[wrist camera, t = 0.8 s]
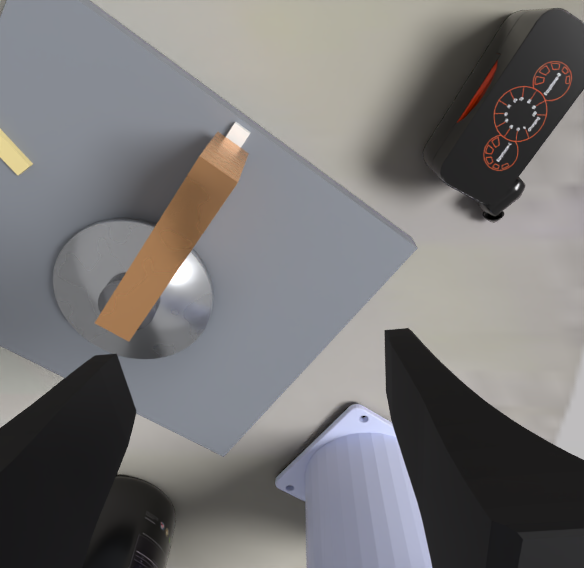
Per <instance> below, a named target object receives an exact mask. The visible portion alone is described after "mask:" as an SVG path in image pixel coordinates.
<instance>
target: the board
mask: <svg viewBox="0 0 584 568" xmlns="http://www.w3.org/2000/svg"><path fill="white" fill-rule="evenodd" d="M217 132H219V133H221V134H222V135H224V136H225V137H226V138H228V139H229V140H231V141H232V142H233V143H235V144H236V145H238V146H239V147H241V148H242V149H243V150H245V151H246V152H248V153H249V154H248V157H247V160H246V162H245V165H244V168H243V170H242V173H241V176H240V179H239V181H238V183H237V185H236V186H235V188H234V189H233V191H232V192H231V193H230V195H229V196H228V198H227V199H226V201H225V202H224V204H223V205H222V207H221V208H220V210H219V211H218V212H217V214H216V215H215V217H214V218H213V220H212V221H211V223H210V224H209V226H208V227H207V229H206V230H205V231H204V233H203V234H202V236H201V237H200V239H199V240H198V242H197V243H196V245H195V246H194V250H195V251H196V252H197V253H198V254H199V256H200V257H201V259H202V260H203V261H204V263H205V265H206V267H207V269H208V271H209V274H210V277H211V280H212V285H213V293H214V300H213V307H212V311H211V315H210V318H209V321H208V323H207V325H206V328H205V329H204V331H203V332H202V334H201V335H200V336H199V337H198V338H197V340H196V341H195V342H193V343H192V344H191V345H190V346H188V347H187V348H185V349H184V350H182V351H180V352H178V353H175V354H173V355H170V356H167V357H162V358H157V359H134V358H127V357H123V356H119V355H117V356H118V359H119V362H120V364H121V367H122V370H123V373H124V376H125V379H126V382H127V385H128V388H129V391H130V393H131V396H132V399H133V402H134V405H135V408H136V413H137V414H139V415H141V416H143V417H145V418H147V419H149V420H151V421H153V422H155V423H157V424H159V425H161V426H163V427H165V428H167V429H169V430H171V431H173V432H175V433H177V434H179V435H181V436H183V437H185V438H187V439H189V440H191V441H193V442H195V443H197V444H199V445H201V446H203V447H205V448H207V449H209V450H211V451H213V452H215V453H217V454H219V455H221V456H223V457H224V456H225V455H226V454H227V453H228V452H229V451H230V449H231V448H232V447H233V446H234V445H235V444H236V443H237V442H238V441H239V440H240V439H241V438H242V437H243V435H244V434H245V433H246V432H247V431H248V430H249V429H250V428H251V427H252V426H253V425H254V424H255V423H256V421H257V420H258V419H259V418H260V417H261V416H262V415H263V414H264V413H265V412H266V411H267V410H268V409H269V407H270V406H271V405H272V404H273V403H274V402H275V401H276V400H277V399H278V398H279V397H280V396H281V395H282V393H283V392H284V391H285V390H286V389H287V388H288V387H289V386H290V385H291V384H292V383H293V382H294V381H295V379H296V378H297V377H298V376H299V375H300V374H301V373H302V372H303V371H304V370H305V369H306V368H307V367H308V365H309V364H310V363H311V362H312V361H313V360H314V359H315V358H316V357H317V356H318V355H319V354H320V353H321V351H322V350H323V349H324V348H325V347H326V346H327V345H328V344H329V343H330V342H331V341H332V340H333V339H334V337H335V336H336V335H337V334H338V333H339V332H340V331H341V330H342V329H343V328H344V327H345V326H346V325H347V323H348V322H349V321H350V320H351V319H352V318H353V317H354V316H355V315H356V314H357V313H358V312H359V311H360V309H361V308H362V307H363V306H364V305H365V304H366V303H367V302H368V301H369V300H370V299H371V298H372V297H373V295H374V294H375V293H376V292H377V291H378V290H379V289H380V288H381V287H382V286H383V285H384V284H385V283H386V282H387V280H388V279H389V278H390V277H391V276H392V275H393V274H394V273H395V272H396V271H397V270H398V269H399V268H400V266H401V265H402V264H403V263H404V262H405V261H406V260H407V259H408V258H409V257H410V256H411V255H412V254H413V252H414V251H415V250H416V249H417V246H416V244H415V243H414V241H413V239H412V237H410V236H409V235H408V234H406V233H405V232H404V231H402V230H401V229H400V228H398V227H397V226H395V225H394V224H393V223H391V222H390V221H389V220H387V219H386V218H385V217H383V216H382V215H381V214H379V213H378V212H376V211H375V210H374V209H372V208H371V207H370V206H368V205H367V204H366V203H364V202H363V201H361V200H360V199H359V198H357V197H356V196H355V195H353V194H352V193H351V192H349V191H348V190H347V189H345V188H344V187H342V186H341V185H340V184H338V183H337V182H336V181H334V180H333V179H332V178H330V177H329V176H328V175H326V174H325V173H323V172H322V171H321V170H319V169H318V168H317V167H315V166H314V165H313V164H311V163H310V162H308V161H307V160H306V159H304V158H303V157H302V156H300V155H299V154H298V153H296V152H295V151H294V150H292V149H291V148H289V147H288V146H287V145H285V144H284V143H283V142H281V141H280V140H279V139H277V138H276V137H275V136H273V135H272V134H270V133H269V132H268V131H266V130H265V129H264V128H262V127H261V126H260V125H258V124H257V123H256V122H254V121H253V120H251V119H250V118H249V117H247V116H246V115H245V114H243V113H242V112H241V111H239V110H238V109H236V108H235V107H234V106H232V105H231V104H230V103H228V102H227V101H226V100H224V99H223V98H222V97H220V96H219V95H217V94H216V93H215V92H213V91H212V90H211V89H209V88H208V87H207V86H205V85H204V84H203V83H201V82H200V81H198V80H197V79H196V78H194V77H193V76H192V75H190V74H189V73H188V72H186V71H185V70H183V69H182V68H181V67H179V66H178V65H177V64H175V63H174V62H173V61H171V60H170V59H169V58H167V57H166V56H164V55H163V54H162V53H160V52H159V51H158V50H156V49H155V48H154V47H152V46H151V45H150V44H148V43H147V42H145V41H144V40H143V39H141V38H140V37H139V36H137V35H136V34H135V33H133V32H132V31H131V30H129V29H128V28H126V27H125V26H124V25H122V24H121V23H120V22H118V21H117V20H116V19H114V18H113V17H111V16H110V15H109V14H107V13H106V12H105V11H103V10H102V9H101V8H99V7H98V6H97V5H95V4H94V3H92V2H91V1H90V0H7V1H6V4H5V6H4V9H3V11H2V14H1V17H0V346H2V347H4V348H6V349H8V350H10V351H12V352H14V353H16V354H18V355H20V356H22V357H24V358H26V359H28V360H30V361H32V362H34V363H36V364H38V365H40V366H42V367H44V368H46V369H48V370H50V371H52V372H54V373H56V374H58V375H60V376H62V377H64V378H66V377H67V376H68V375H69V374H71V373H72V372H73V371H74V370H76V369H77V368H78V367H80V366H81V365H82V364H83V363H85V362H86V361H88V360H89V359H90V358H92V357H93V356H95V355H105V354H113V353H110V352H107V351H105V350H103V349H101V348H99V347H97V346H96V345H94V344H92V343H91V342H89V341H88V340H86V339H85V338H84V337H82V336H81V335H80V334H79V333H78V332H77V331H76V330H75V329H74V328H73V327H72V326H71V325H70V323H69V322H68V321H67V319H66V318H65V316H64V315H63V313H62V311H61V309H60V308H59V305H58V303H57V300H56V297H55V293H54V289H53V271H54V267H55V263H56V260H57V258H58V256H59V253H60V252H61V250H62V249H63V247H64V246H65V245H66V244H67V243H68V242H69V241H70V239H71V238H73V237H74V236H75V235H76V234H77V233H78V232H80V231H81V230H82V229H84V228H86V227H87V226H89V225H91V224H94V223H96V222H99V221H102V220H107V219H111V218H135V219H142V220H146V221H150V222H153V223H156V224H157V223H158V221H159V220H160V218H161V216H162V215H163V213H164V212H165V210H166V208H167V207H168V205H169V204H170V202H171V200H172V199H173V197H174V196H175V194H176V193H177V191H178V189H179V188H180V186H181V185H182V183H183V181H184V180H185V178H186V177H187V175H188V173H189V172H190V170H191V169H192V167H193V165H194V164H195V162H196V161H197V159H198V157H199V156H200V155H201V153H202V152H203V151H204V149H205V148H206V147H207V145H208V144H209V143H210V141H211V140H212V138H213V137H214V136H215V134H216V133H217Z"/></svg>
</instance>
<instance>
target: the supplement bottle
mask: <svg viewBox="0 0 584 568" xmlns="http://www.w3.org/2000/svg"><path fill="white" fill-rule="evenodd" d="M175 522H176V516H175V510H174V507H173V505H172V503H171V501H170V500H169V498H168V497H167V496H166V495H165V494H164V493H163V492H162V491H161V490H160V489H158V488H157V487H155V486H154V485H152V484H150V483H148V482H145V481H143V480H140V479H136V478H131V477H124V476H116V477H115V480H114V482H113V484H112V487H111V489H110V492H109V494H108V497H107V499H106V502H105V504H104V507H103V509H102V511H101V514H100V516H99V519H98V521H97V524H96V527H95V529H94V532H93V535H92V538H91V541H90V544H89V547H88V551H87V554H86V558H85V561H84V564H83V568H166V565H167V560H168V556H169V551H170V547H171V542H172V538H173V533H174V528H175Z"/></svg>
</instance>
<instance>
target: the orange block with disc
mask: <svg viewBox="0 0 584 568" xmlns="http://www.w3.org/2000/svg"><path fill="white" fill-rule="evenodd" d="M248 154H249V153H248V152H246V151H245V150H243V149H242V148H241V147H239V146H238V145H236V144H235V143H233V142H232V141H231V140H229V139H228V138H226V137H225V136H224V135H222V134H221V133H219V132H217V133H216V134H215V136H214V137H213V138H212V140H211V141H210V143H209V144H208V145H207V147H206V148H205V149H204V151H203V152H202V153H201V155H200V156H199V157H198V159H197V161H196V162H195V164H194V165H193V167H192V169H191V170H190V172H189V173H188V175H187V177H186V178H185V180H184V181H183V183H182V185H181V186H180V188H179V189H178V191H177V193H176V194H175V196H174V197H173V199H172V200H171V202H170V204H169V205H168V207H167V208H166V210H165V212H164V213H163V215H162V216H161V218H160V220H159V221H158V223H157V224H156V223H153V222H150V221H146V220H142V219H135V218H111V219H107V220H102V221H99V222H96V223H94V224H91V225H89V226H87V227H86V228H84V229H82V230H81V231H80V232H78V233H77V234H76V235H75V236H74V237H73V238H71V239H70V241H69V242H68V243H67V244H66V245H65V246H64V247H63V249H62V250H61V252H60V253H59V256H58V258H57V260H56V263H55V267H54V271H53V289H54V293H55V297H56V300H57V303H58V305H59V308H60V309H61V311H62V313H63V315H64V316H65V318H66V319H67V321H68V322H69V323H70V325H71V326H72V327H73V328H74V329H75V330H76V331H77V332H78V333H79V334H80V335H81V336H82V337H84V338H85V339H86V340H88V341H89V342H91V343H92V344H94V345H96V346H97V347H99V348H101V349H103V350H105V351H107V352H110V353H113V354H117V355H119V356H123V357H127V358H134V359H157V358H162V357H167V356H170V355H173V354H175V353H178V352H180V351H182V350H184V349H185V348H187V347H188V346H190V345H191V344H192V343H193V342H195V341H196V340H197V338H198V337H199V336H200V335H201V334H202V332H203V331H204V329H205V328H206V325H207V323H208V321H209V318H210V315H211V311H212V307H213V300H214V293H213V285H212V280H211V277H210V274H209V271H208V269H207V267H206V265H205V263H204V261H203V260H202V259H201V257H200V256H199V254H198V253H197V252H196V251H195V250H194V246H195V245H196V243H197V242H198V240H199V239H200V237H201V236H202V234H203V233H204V231H205V230H206V229H207V227H208V226H209V224H210V223H211V221H212V220H213V218H214V217H215V215H216V214H217V212H218V211H219V210H220V208H221V207H222V205H223V204H224V202H225V201H226V199H227V198H228V196H229V195H230V193H231V192H232V191H233V189H234V188H235V186H236V185H237V183H238V181H239V179H240V176H241V173H242V170H243V168H244V165H245V162H246V160H247V157H248Z"/></svg>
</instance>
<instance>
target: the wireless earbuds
mask: <svg viewBox="0 0 584 568" xmlns="http://www.w3.org/2000/svg"><path fill="white" fill-rule="evenodd" d="M583 89H584V22H582V21H581V20H579V19H578V18H576V17H575V16H573V15H572V14H571V13H569V12H568V11H566V10H564V9H561V8H551V9H536V10H521V11H518V12H515V13H513V14H511V15H510V16H508V18H507V19H506V20H505V21H504V22H503V24H502V26H501V27H500V29H499V30H498V32H497V34H496V35H495V37H494V38H493V40H492V41H491V43H490V45H489V46H488V48H487V49H486V51H485V53H484V54H483V56H482V57H481V59H480V60H479V62H478V64H477V65H476V67H475V68H474V70H473V72H472V73H471V75H470V76H469V78H468V79H467V81H466V83H465V84H464V86H463V87H462V89H461V91H460V92H459V94H458V95H457V97H456V98H455V100H454V102H453V103H452V105H451V106H450V108H449V109H448V111H447V113H446V114H445V116H444V117H443V119H442V121H441V122H440V124H439V125H438V127H437V128H436V130H435V132H434V133H433V135H432V136H431V138H430V140H429V141H428V143H427V144H426V146H425V148H424V151H423V157H424V161H425V162H426V164H427V165H428V166H429V167H430V168H431V169H432V170H433V171H434V172H435V173H436V175H437V176H438V177H439V178H440V179H441V180H442V181H443V182H444V183H446V184H447V185H448V186H450V187H452V188H454V189H456V190H457V191H459V192H461V193H463V194H465V195H467V196H469V197H470V198H472V199H474V200H476V201H478V203H479V206H480V208H481V209H482V210H483V211H484V212H483V216H484V218H486V219H487V220H488V221H490V222H492V223H495V222H497V221H498V220H500V219H501V218H502V217H503V216H504V212H503V210H504V209H506V208H507V207H508V206H509V205H511V204H512V203H513V202H515V201H516V200H517V199H519V198H520V196H521V195H522V192H523V191H524V188H525V184H524V183H523V181H522V180H521V179H520V178H519V175H520V174H521V173H522V171H523V170H524V169H525V167H526V166H527V165H528V163H529V162H530V161H531V159H532V158H533V157H534V155H535V154H536V152H537V151H538V150H539V148H540V147H541V146H542V144H543V143H544V142H545V140H546V139H547V138H548V136H549V135H550V134H551V132H552V131H553V130H554V128H555V127H556V126H557V124H558V123H559V122H560V120H561V119H562V118H563V116H564V115H565V114H566V112H567V111H568V110H569V108H570V107H571V106H572V104H573V103H574V101H575V100H576V99H577V97H578V96H579V95H580V93H581V92H582V91H583Z"/></svg>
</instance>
